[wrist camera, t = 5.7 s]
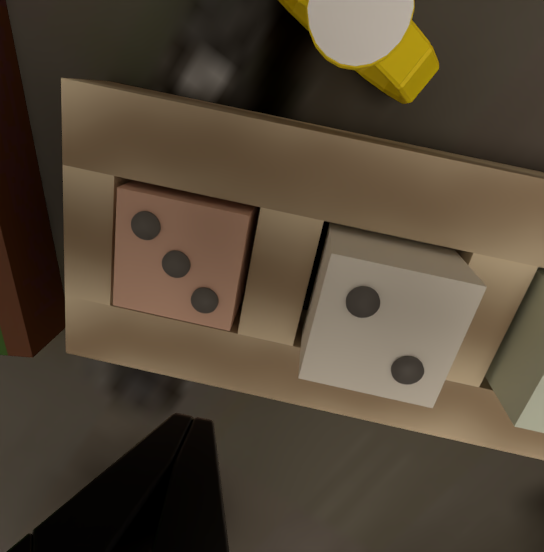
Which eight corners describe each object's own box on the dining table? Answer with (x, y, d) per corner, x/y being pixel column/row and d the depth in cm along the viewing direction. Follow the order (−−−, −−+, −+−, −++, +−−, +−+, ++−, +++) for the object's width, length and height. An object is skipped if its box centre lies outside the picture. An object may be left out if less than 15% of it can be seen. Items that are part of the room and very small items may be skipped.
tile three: (243, 294, 21) (229, 332, 17) (144, 272, 21) (111, 306, 17) (261, 195, 18) (249, 217, 15) (152, 171, 19) (115, 188, 15)
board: (577, 421, 22) (621, 477, 19) (102, 316, 22) (65, 352, 19) (714, 207, 17) (805, 233, 14) (108, 80, 18) (61, 77, 14)
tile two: (413, 354, 18) (433, 411, 15) (302, 329, 19) (298, 380, 15) (454, 249, 16) (488, 288, 13) (329, 222, 16) (331, 255, 13)
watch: (269, 25, 17) (231, -21, 11) (313, -46, 16) (295, -136, 10) (385, 121, 17) (405, 123, 12) (435, 59, 16) (483, 29, 11)
